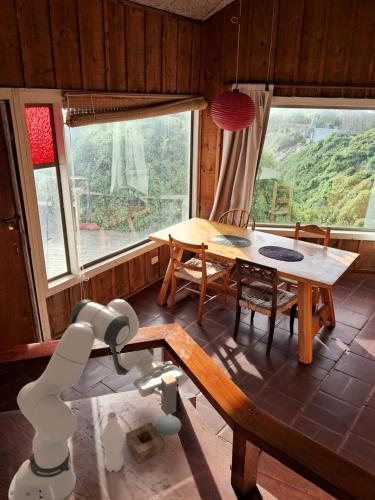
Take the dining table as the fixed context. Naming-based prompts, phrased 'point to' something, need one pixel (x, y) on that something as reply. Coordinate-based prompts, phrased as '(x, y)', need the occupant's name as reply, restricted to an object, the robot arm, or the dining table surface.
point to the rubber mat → (168, 425)
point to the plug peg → (168, 394)
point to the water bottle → (113, 443)
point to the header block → (145, 442)
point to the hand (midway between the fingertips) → (169, 392)
